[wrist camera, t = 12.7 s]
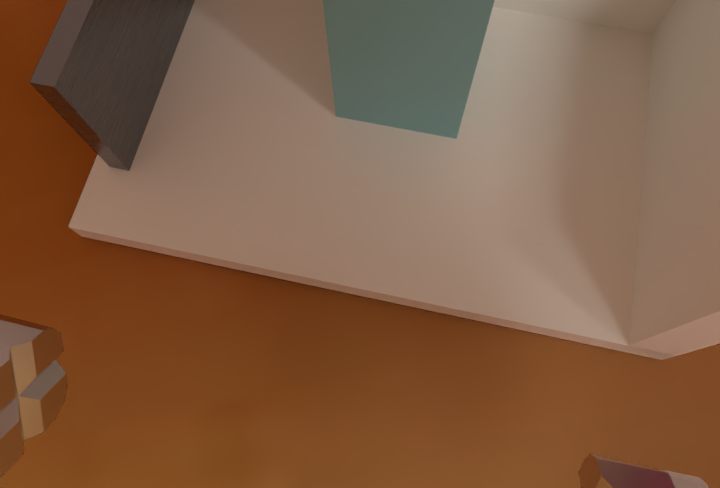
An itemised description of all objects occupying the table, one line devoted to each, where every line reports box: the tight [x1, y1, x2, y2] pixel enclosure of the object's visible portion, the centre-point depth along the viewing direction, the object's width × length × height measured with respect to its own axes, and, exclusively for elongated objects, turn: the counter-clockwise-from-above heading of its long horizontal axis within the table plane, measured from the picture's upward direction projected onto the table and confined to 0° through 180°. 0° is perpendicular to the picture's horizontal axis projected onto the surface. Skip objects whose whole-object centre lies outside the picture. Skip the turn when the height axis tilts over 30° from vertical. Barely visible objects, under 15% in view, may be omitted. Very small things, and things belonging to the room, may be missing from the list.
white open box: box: [68, 0, 720, 360], centre depth 16 cm, size 11×17×5 cm, turn 77°
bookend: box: [30, 0, 195, 171], centre depth 16 cm, size 7×4×5 cm, turn 167°
